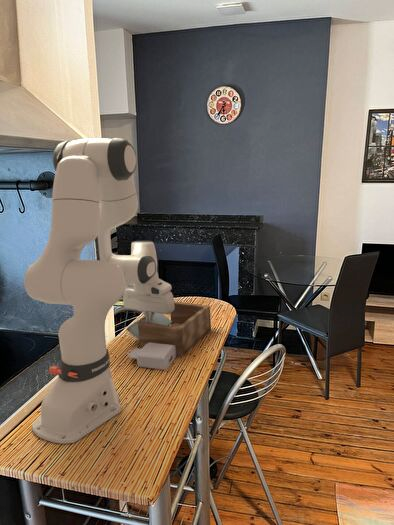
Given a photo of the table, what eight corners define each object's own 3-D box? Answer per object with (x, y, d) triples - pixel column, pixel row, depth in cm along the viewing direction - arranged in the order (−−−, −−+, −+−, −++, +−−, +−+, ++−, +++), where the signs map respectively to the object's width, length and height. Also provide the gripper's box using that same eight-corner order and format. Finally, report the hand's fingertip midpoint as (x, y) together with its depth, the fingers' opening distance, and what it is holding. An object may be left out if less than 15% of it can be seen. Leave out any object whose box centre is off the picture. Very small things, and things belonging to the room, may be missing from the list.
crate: (181, 357, 127) (179, 329, 125) (140, 349, 135) (137, 323, 132) (211, 330, 146) (209, 305, 144) (173, 324, 153) (171, 301, 151)
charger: (134, 352, 133) (176, 357, 128) (120, 366, 125) (165, 371, 120) (133, 339, 132) (175, 343, 127) (119, 352, 124) (164, 357, 119)
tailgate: (145, 341, 135) (128, 327, 137) (143, 344, 136) (126, 329, 138) (172, 321, 151) (156, 308, 153) (171, 324, 152) (155, 311, 153)
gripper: (117, 285, 143) (121, 321, 146) (165, 290, 133) (168, 329, 137) (128, 280, 148) (132, 315, 152) (175, 285, 139) (178, 322, 142)
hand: (149, 322), depth 144 cm, fingers closed
